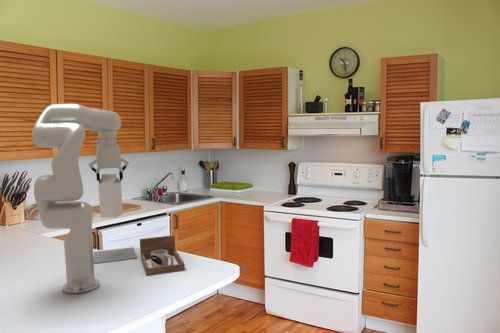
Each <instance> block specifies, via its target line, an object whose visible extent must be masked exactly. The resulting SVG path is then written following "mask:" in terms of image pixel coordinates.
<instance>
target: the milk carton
mask: <svg viewBox="0 0 500 333" xmlns="http://www.w3.org/2000/svg"><path fill="white" fill-rule="evenodd" d="M118 177H119V176H117V173H102V174H101V176H100V183H99V182H98V186H97V187H98V198H99V199H98V201H99V212H100V218H103V219H104V218H105V219H106V218H108V219H109V218H112V219H113V218H117V217H120V216H122V215H123V214H124V210H123V209H124V208H123V195H122V194H123V191H122V181H120V178H118Z"/></svg>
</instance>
